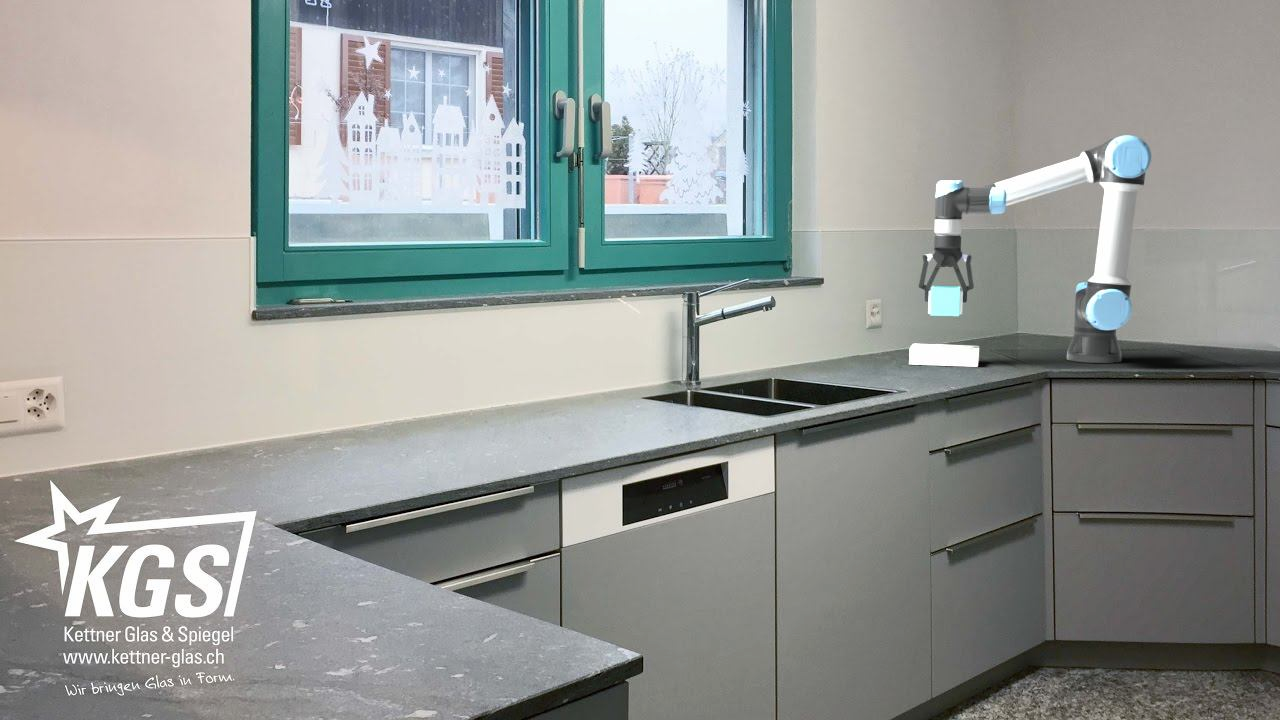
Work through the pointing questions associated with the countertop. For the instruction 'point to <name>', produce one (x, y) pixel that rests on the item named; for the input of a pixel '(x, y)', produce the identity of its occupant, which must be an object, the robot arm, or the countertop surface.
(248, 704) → the countertop surface
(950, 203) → the robot arm
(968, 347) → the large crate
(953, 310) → the small crate
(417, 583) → the countertop surface
